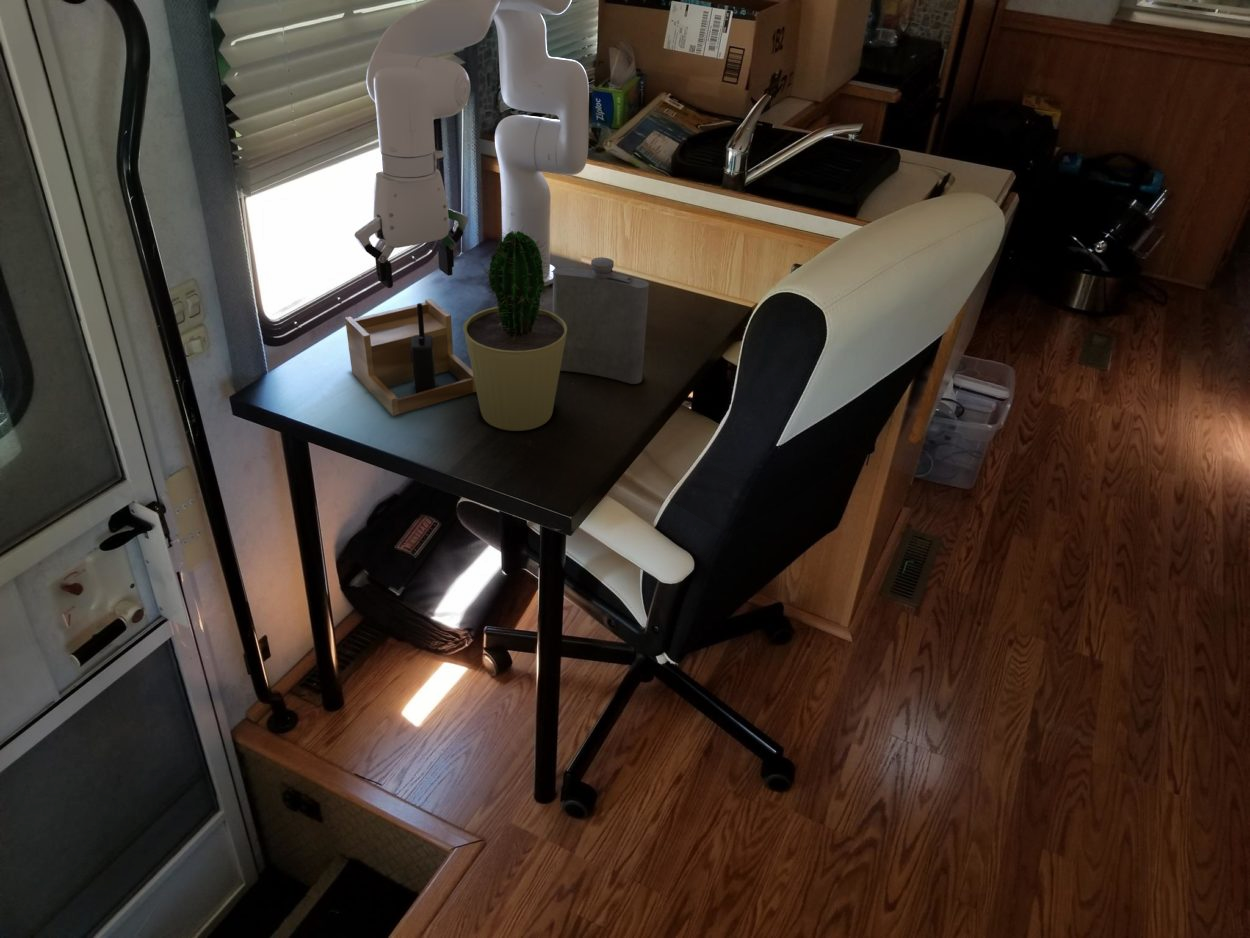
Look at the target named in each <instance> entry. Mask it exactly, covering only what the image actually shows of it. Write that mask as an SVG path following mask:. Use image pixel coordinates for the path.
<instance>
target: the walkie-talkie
mask: <svg viewBox="0 0 1250 938" xmlns="http://www.w3.org/2000/svg"><path fill="white" fill-rule="evenodd" d="M421 303H422V302H418V303H416V304H417V313H418V325H419V335H414V336H413V337H412V347H411V362H413V372H414V380H413V382H414V383H413V385H414V394H416V393H419V392H423V391H426V390H430V389H434V388H437V383H436V374H435V368H434V354H433V339H432V336H430V335H424V322H423V310H422V304H421Z"/></svg>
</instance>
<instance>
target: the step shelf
mask: <svg viewBox="0 0 1250 938" xmlns="http://www.w3.org/2000/svg"><path fill="white" fill-rule="evenodd" d="M420 303H421V304H422V310H423V322H424V335H430V336H432V339H433V354H434V368H435V375H437V374H441V373H446V372H448V371H449V372H450V373H451V374H452V375H453V376H455V378H457V379H458V380H459V381H455V382H451V383H447V384H444V385H441V386H438V387H437V386H436V388H434V389H430V390H426V391H423V392H419V393H416V394H415V393H412V394H409V395H406V396H402V397H398V396H396V395H395V394H394V393H393V392H392V391H391V390H390V389H389V388H390V387H395V386H398V385H402V384H405V383H408V382H412V381H413V382H414V372H413V362H411V347H412V337H413V336H414V335H419V325H418V313H417V304H418V303H416V304H412V305H407V306H403V307H399V308H395V309H390V310H386V311H382V312H377V313H373V314H369V315H363V316H360V317H356V318H353V317H352V316H346V317H344V321H345V328H346V329H345V330H346V336H347V343H348V344H347V345H348V353H349V361H350V367H351V368H350V369H351V373H352V374H353V375H354V376H355V378H357V379H358V381H359V382H360V383H361V384H362V385H363V386H364V387H365V388H366V389H367V390H368V391H369V392H370V393H371V394H372V395H373V397H374V398H375V399H377V401H378V402H379V403H380V404H381V405H382V406H383V407H384V408H385V409H386V410H387V412H388V413H390V415H391V416H393V417H395V416H397V415H401V414H405V413H408V412H411V411H415V410H418V409H422V408H425V407H428V406H431V405H432V406H433V405H435V404H439V403H443V402H446V401H449V400H452V399H456V398H459V397H462V396H466V395H470V394H473V393H477V391H476V386H475V382H474V377H473V372H472V368H471V367H469V366H468V364H466V363H465V362H464V361H462V360H461V359H460V358H459V357H458V356H457V355H456V354H454V345H453V344H454V343H453V327H452V326H453V325H452V315H451V314H450V313H449V312H448V311H446V310H445V309H444V308H443V307H442V306H440V305H439V304H438V303H436V302H435V300H433V299H432V298H426V299H425V300H424V302H420Z"/></svg>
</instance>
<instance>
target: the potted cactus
mask: <svg viewBox="0 0 1250 938" xmlns="http://www.w3.org/2000/svg"><path fill="white" fill-rule="evenodd" d="M523 228H524V227H523ZM507 230H508V229H507ZM509 230H510V229H509ZM522 230H523V229H522ZM522 230H521V233H520V232H519V231H517V233H516V232H515V234H514V232H513V231H512V232H510V233H508V234H506V235H505V237H502V236H504V235H502V233H503V232H502V231H501V235H500V234H498V235H497V237H498V238H497V239H498V240H497V239H496V241H497V242H498V243H497V246H496V248H495V251H491V253H492V254H491V257H490V258H489V256H486V259H487V260H489V268H486V270H485V271H484V273H485V274H486V275H485V274H484V273H482V275H485V277H484V279H485V280H486V279H487V280H488V283H487V284H486V285H485V287H486V288H488V290H489V292H487V293H486V294H487V295H488V294H489V293H491V294H490V297H493V300H494V299H495V300H494V302H493V304H491V306H492V307H490V308H489V307H488V308H485V309H483V310H480V311H478V312H475V313H474V314H472V315H470V316H469V317H468V318H467V319H466V320H465V321H464V323H463V326H462V330H463V334H464V336H465V343H466V347H467V352H468V357H469V361H470V368H471V370H472V372H473V377H474V382H475V386H476V391H477V392H476V395H477V396H476V397H477V401H478V406H479V410H480V414H481V416H482V418H483V420H484V421H485V422H486V423H487V424H488V425H490V426H492V427H494V428H497V429H500V430H505V431H513V432H520V431H521V432H522V431H528V430H529V431H530V430H533V429H537V428H539V427H541V426H543V425H544V424H546V423H548V421H550V420H551V418H552V416H553V413H554V406H555V401H556V400H555V399H556V395H557V390H558V385H559V379H560V378H559V377H560V374H561V373H560V372H561V371H560V367H561V362H562V356H563V351H564V346H565V340H566V333H567V326H566V324H565V322H564V321H563V320H562V319H561V318H560V317H559V316H557V315H555V314H554V313H553V311H552V312H551V311H549V310H547V309H545V306H544V305H542V307H543V308H541V303H542V302H545V300H543V299H542V295H546V294H547V293H545V292H546V291H549V290H551V287H550V286H549V285H553V283H546V282H545V283H544V280H543V276H544V275H543V270H542V267H547V266H542V260H541V256H542V255H541V253H540V252H539V251H540V250H539V249H538V247H537V244H538V242H539V241H538V242H534V240H533V239H532V236H531V238H530V237H529V236H527V235H524V234H523V232H522ZM503 231H504V230H503ZM508 232H509V231H508ZM504 234H505V233H504ZM525 234H526V233H525ZM527 234H528V233H527ZM530 235H531V234H530ZM503 238H504V239H503ZM502 240H503V242H502ZM541 243H542V242H541ZM545 243H546V242H545ZM539 244H540V243H539ZM539 244H538V245H539ZM543 246H544V245H543ZM541 247H542V246H541ZM539 248H540V247H539ZM545 250H546V249H545ZM542 252H543V251H542ZM542 257H544V256H542ZM543 259H547V258H543ZM543 263H546V262H543ZM544 273H545V272H544ZM546 279H547V278H546ZM544 284H549V285H547V286H544ZM485 287H484V288H485Z"/></svg>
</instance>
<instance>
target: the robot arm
mask: <svg viewBox="0 0 1250 938" xmlns="http://www.w3.org/2000/svg"><path fill="white" fill-rule="evenodd" d="M572 1H573V0H430V1H428V2H425V3H423V4H422V5H419V6H418V7H416V8H414V9H413V10H411V11H409V12H407V13H406V14H404V15H402V16H401V17H399V18H398V19H396V20H394V22H392V23H391V24H390V25H389V26H388V27H387V28H386V30H385V31H384V32H383V33H382V35H381V37H380V39H379V40H378V43H377V45H376V47H375V49H374V51H373V52H372V55H371V57H370V60H369V63H368V66H367V70H366V77H365V78H366V79H365V81H366V88H367V92H368V94H369V97H370V99H372V101H373V102H374V103H375V112H376V113H375V114H376V123H377V124H376V125H377V135H378V147H379V159H380V170H381V171H378V172H376V173H375V176H374V185H373V199H372V201H373V203H372V205H373V206H372V207H373V209H372V210H373V213H372V215H373V218H372V219H371V220H370V221H369V222H367V223H366V224H365V225H363V226H362V227H360V228H359V229H358V230H357V231H355V232H354V237H355V239H356V241H357V242H358V243H359V245H360V246H361V248H362V250H363V251H365V252H366V253H367V254H368V255H370V256H371V257H372V258H374V260H375V269H376V271H375V272H376V277H377V280H378V281H379V282H380V283H381V284H382V285H383V286H385V287H386V288H387V289H392V288H393V287H394V281H393V280H394V279H393V270H392V269H393V268H392V263H391V261H390V260H389V258H390V256H391V254H392V253H393V251H394V250H395V249H398V248H406V247H410V246H417V245H422V244H427V243H433V242H437V241H439V243H438V245H437V256H438V257H437V258H438V269H439V271H441V272H442V273H444V274H445V275H446V276H448V277H450V276H453V275H454V274H453V268H454V266H455V262H454V261H455V258H454V257H455V255H454V250H455V249H456V248H457V243H458V242H459V240H461V238H462V237H463V236H464V230H466V229H465V228H466V226H467V224H468V221H469V217H468V216H467V215H466V214H464V213H462V212H459V211H457V210H455V209H451V208H449V207H448V201H447V196H446V195H447V194H446V189H445V185H444V181H443V178H442V174H441V171H440V170H439V169H438V163H439V162H441V161H444V159H445V155H444V151H443V150H437V148H436V142H435V140H436V139H435V124H434V120H437V119H443V118H449V117H453V116H455V115H457V114H459V113H460V112H461V111H462V110H463V109H464V108H465V107H466V105H467V104H468V102H469V99H470V95H471V80H470V76H469V74H468V73H467V70H466V69H465V68H464V67H463V66H462V65H461V64H460V63H458V62H457V61H454V60H450V59H446V58H439V57H431V56H435V55H440V54H443V53H444V54H445V53H449V52H455V51H458V50H461V49H465V48H468V47H470V46H474V45H476V44H478V43H479V42H481V41H482V40H483V39H485V37H486V35H487V34H488V33H489V29H490V27H491V25H492V22H493V21H494V23H495V27H496V33H497V34H496V35H497V44H498V45H497V46H498V64H499V65H498V68H499V84H500V85H499V86H500V92H501V97H502V100H503V102H504V103H505V105H506V106H508V107H509V108H511V109H514V110H518V111H523V112H529V113H538V114H546V115H552V116H556V117H557V118H558V119H553V118H547V117H540V116H533V115H527V114H526V115H525V114H513V115H508V116H506V117H503V119H501V120H500V121H499V122H498V124H497V126H496V128H495V131H494V132H495V133H494V147H495V152H496V157H497V163H498V167H499V177H500V195H501V197H500V198H501V200H500V201H501V238H502V237H505V235H506V234H508V233H510V232H512V231H513V232H514V234H515V232H516V233H517V231H519V232H520V233H521V230H522V229H523V230H522V232H523V234H524V235H527V236H529V237H530V238H531V236H532V239H533V240H534V242H538V241H539V242H538V244H539V243H540V244H539V245H538V244H537V247H538V249H539V250H540V251H539V252H540V253H541V255H542V256H544V257H542V256H541V260H542V266H547V267H542V270H543V275H544V276H543V280H544V283H545V282H546V283H552V284H553V270H554V269H555V268H556V267H555V266H554V265H552V264H551V201H552V200H551V199H552V198H551V189H550V187H549V184H548V181H547V180H546V178H545V175H544V174H543V173H550V174H557V175H564V176H575V175H578V174H580V173H581V172H582V171H583V170H584V169H585V167H586V165H587V162H588V155H589V129H590V127H589V126H590V125H589V124H590V123H589V122H590V121H589V119H590V116H589V115H590V114H589V112H590V111H589V109H590V108H589V106H590V90H589V87H590V86H589V79H588V74H587V72H586V70H585V68H584V66H583V65H582V64H581V63H580V62H578V61H577V60H574V59H570V58H564V57H563V58H562V57H555V56H550V55H549V53H548V50H547V49H548V45H547V44H548V43H547V26H546V22H545V19H544V18H543V15H551V16H552V15H553V16H555V15H556V16H557V15H561V14H563V13H565V12H566V11H567V10H568V8H569V7H570V5H571V3H572ZM542 14H543V15H542ZM450 219H451V220H453V221H454V224H453V226H452V227H451V228H450ZM523 227H524V228H523ZM507 229H508V230H507ZM509 229H510V230H509ZM503 230H504V231H503ZM508 231H509V232H508ZM502 232H503V233H502ZM504 233H505V234H504ZM525 233H526V234H525ZM527 233H528V234H527ZM530 234H531V235H530ZM373 235H375V237H376V238H377V239H378V240H377V242H376V244H375V245H373V244H372V243H371V241H370V238H371V237H372V236H373ZM502 235H504V236H502ZM503 239H504V238H503ZM501 240H502V239H501ZM501 242H503V240H502V241H501ZM541 242H542V243H541ZM545 242H546V243H545ZM543 245H544V246H543ZM541 246H542V247H541ZM539 247H540V248H539ZM545 249H546V250H545ZM542 251H543V252H542ZM543 258H547V259H543ZM543 262H546V263H543ZM544 272H545V273H544ZM546 278H547V279H546ZM549 285H550V284H544V287H545V286H549Z"/></svg>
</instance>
